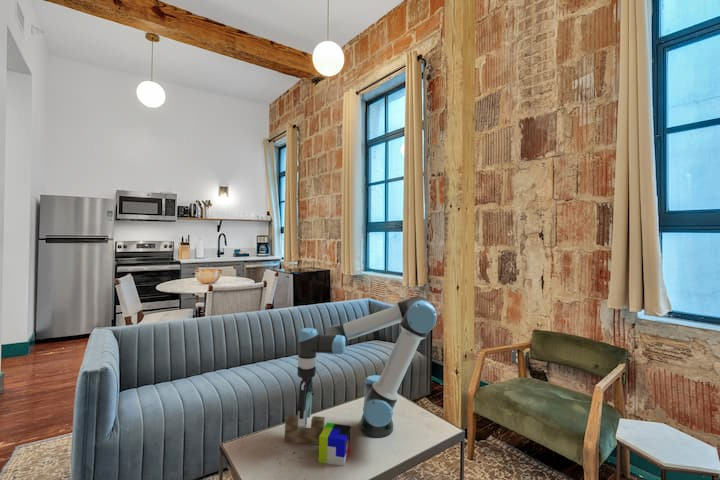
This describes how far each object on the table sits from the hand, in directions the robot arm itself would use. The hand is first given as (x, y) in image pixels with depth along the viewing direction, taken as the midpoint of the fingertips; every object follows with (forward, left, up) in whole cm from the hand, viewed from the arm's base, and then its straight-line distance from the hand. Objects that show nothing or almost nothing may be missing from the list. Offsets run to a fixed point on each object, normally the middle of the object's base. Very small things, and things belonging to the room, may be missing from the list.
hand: (304, 418), depth 146 cm
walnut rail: (0, 0, -10) cm, 10 cm away
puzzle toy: (-14, +8, -10) cm, 19 cm away
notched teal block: (0, 0, -1) cm, 1 cm away
